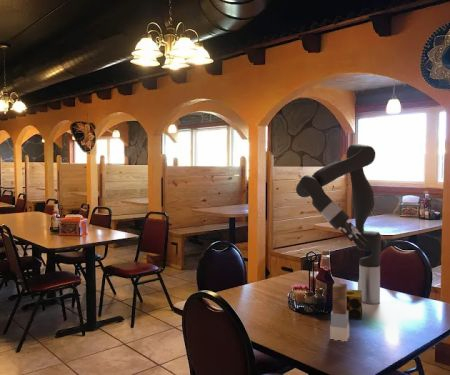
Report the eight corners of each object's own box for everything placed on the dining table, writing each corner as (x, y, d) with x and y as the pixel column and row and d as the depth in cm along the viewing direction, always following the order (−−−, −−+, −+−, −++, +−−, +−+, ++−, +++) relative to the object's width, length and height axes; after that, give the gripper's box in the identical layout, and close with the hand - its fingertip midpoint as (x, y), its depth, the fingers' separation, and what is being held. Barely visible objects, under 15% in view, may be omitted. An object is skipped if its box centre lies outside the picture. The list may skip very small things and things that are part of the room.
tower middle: (331, 326, 160) (331, 313, 160) (333, 321, 165) (333, 308, 165) (346, 328, 158) (346, 315, 158) (348, 323, 163) (348, 310, 163)
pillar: (332, 312, 160) (332, 286, 159) (334, 309, 164) (334, 283, 164) (345, 314, 158) (345, 287, 158) (346, 310, 162) (346, 284, 162)
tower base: (330, 339, 160) (330, 326, 160) (333, 333, 166) (333, 321, 166) (346, 342, 158) (346, 328, 158) (349, 336, 163) (349, 323, 163)
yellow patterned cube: (362, 312, 189) (362, 290, 188) (361, 320, 179) (361, 296, 179) (338, 310, 192) (338, 288, 192) (336, 318, 183) (336, 294, 182)
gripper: (338, 210, 167) (369, 242, 163) (344, 207, 180) (373, 236, 176) (324, 223, 170) (355, 255, 165) (331, 219, 183) (359, 248, 178)
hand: (364, 245), depth 171 cm, fingers open, 8 cm apart
